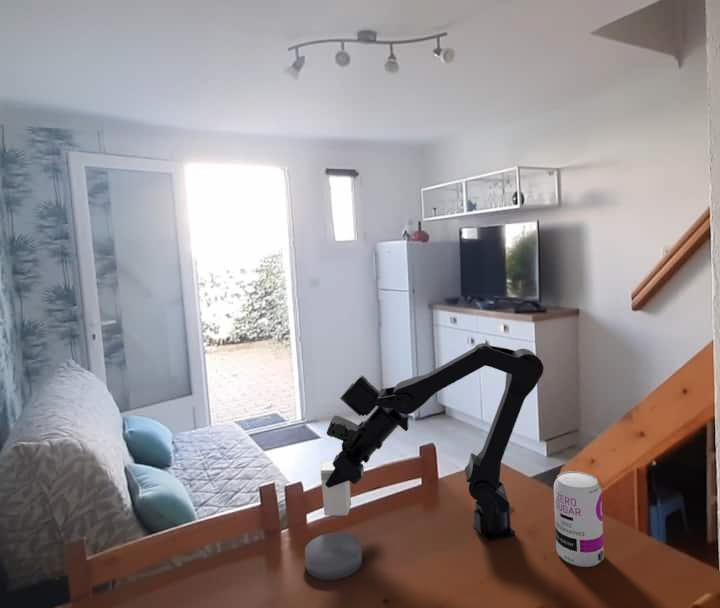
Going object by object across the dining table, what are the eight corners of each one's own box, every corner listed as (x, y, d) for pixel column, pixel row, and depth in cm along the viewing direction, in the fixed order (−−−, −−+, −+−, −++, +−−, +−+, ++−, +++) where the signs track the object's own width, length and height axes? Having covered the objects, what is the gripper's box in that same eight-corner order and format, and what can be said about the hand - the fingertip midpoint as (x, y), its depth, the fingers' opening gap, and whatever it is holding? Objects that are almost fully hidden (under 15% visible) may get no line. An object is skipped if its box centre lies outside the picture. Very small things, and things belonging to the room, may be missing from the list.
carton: (351, 504, 114) (347, 460, 113) (347, 515, 109) (343, 470, 108) (329, 504, 114) (325, 461, 114) (324, 515, 109) (320, 470, 109)
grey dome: (353, 542, 107) (352, 528, 106) (369, 571, 96) (367, 556, 96) (301, 553, 104) (300, 539, 103) (311, 585, 93) (310, 570, 93)
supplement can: (603, 547, 98) (600, 472, 97) (604, 572, 91) (601, 491, 90) (558, 540, 102) (555, 468, 100) (555, 564, 94) (551, 486, 93)
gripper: (354, 393, 118) (311, 440, 121) (339, 418, 100) (290, 473, 102) (390, 425, 118) (347, 472, 120) (382, 456, 99) (331, 511, 102)
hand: (329, 480), depth 111 cm, fingers closed on carton, 5 cm apart
